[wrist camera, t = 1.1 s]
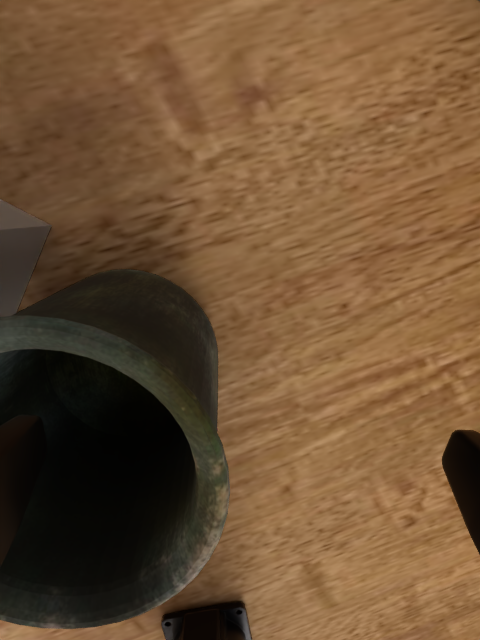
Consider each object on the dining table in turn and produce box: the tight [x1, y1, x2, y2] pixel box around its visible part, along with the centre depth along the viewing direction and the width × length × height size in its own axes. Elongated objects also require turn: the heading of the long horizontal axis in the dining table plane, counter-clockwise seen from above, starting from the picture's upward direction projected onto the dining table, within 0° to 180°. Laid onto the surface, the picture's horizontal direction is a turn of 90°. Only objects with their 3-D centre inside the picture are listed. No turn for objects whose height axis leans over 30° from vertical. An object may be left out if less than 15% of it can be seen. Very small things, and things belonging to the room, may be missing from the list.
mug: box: [0, 269, 230, 629], centre depth 17 cm, size 11×15×12 cm
